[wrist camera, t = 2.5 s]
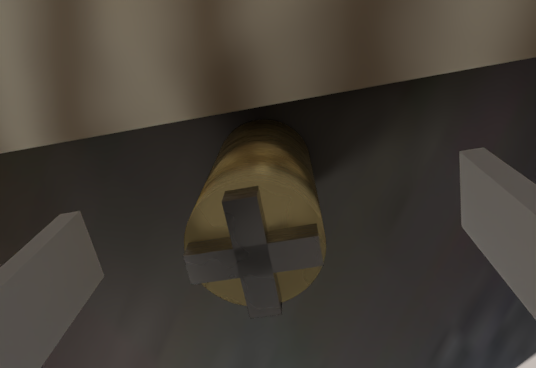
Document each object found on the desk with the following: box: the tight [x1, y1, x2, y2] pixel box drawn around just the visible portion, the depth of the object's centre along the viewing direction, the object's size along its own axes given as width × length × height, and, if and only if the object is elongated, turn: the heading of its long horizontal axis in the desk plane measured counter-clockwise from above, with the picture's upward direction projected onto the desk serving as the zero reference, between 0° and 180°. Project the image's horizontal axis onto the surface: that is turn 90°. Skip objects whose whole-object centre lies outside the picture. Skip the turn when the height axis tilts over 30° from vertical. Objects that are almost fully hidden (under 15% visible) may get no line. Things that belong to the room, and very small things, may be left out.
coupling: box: [183, 119, 326, 319], centre depth 17 cm, size 4×4×9 cm
